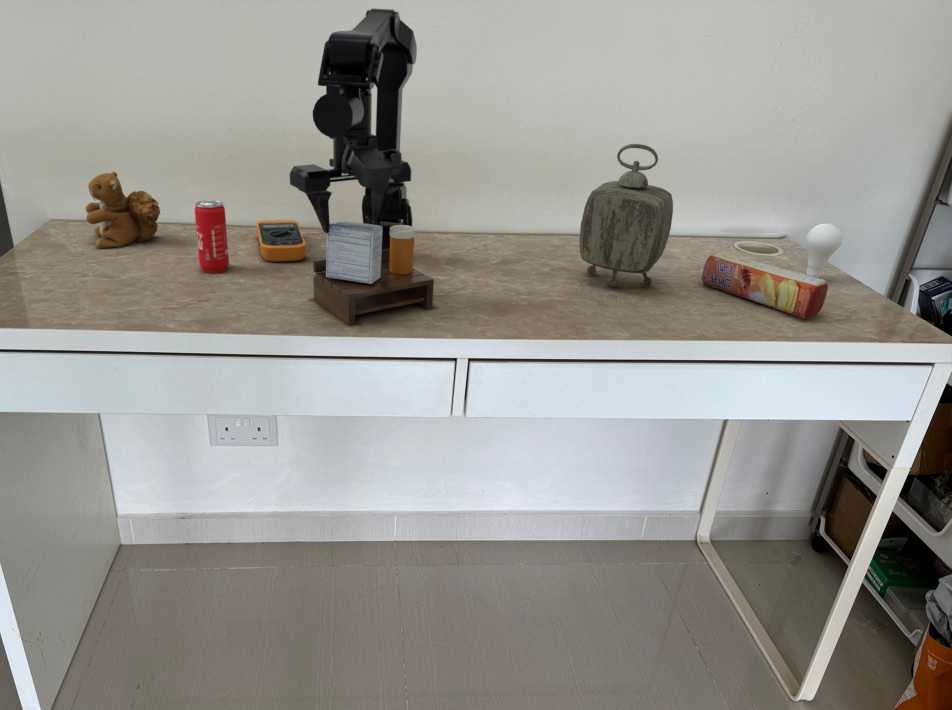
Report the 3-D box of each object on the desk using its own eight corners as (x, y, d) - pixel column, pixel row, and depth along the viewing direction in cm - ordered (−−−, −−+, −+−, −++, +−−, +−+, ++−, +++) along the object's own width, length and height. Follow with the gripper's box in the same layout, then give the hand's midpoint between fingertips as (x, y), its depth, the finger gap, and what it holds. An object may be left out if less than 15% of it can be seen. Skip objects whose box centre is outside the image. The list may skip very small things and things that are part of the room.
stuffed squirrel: (92, 234, 156) (82, 167, 150) (165, 232, 159) (158, 167, 153) (87, 249, 148) (75, 179, 141) (163, 246, 151) (155, 178, 145)
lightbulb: (828, 277, 152) (846, 222, 146) (829, 287, 147) (847, 230, 141) (795, 272, 154) (811, 217, 148) (794, 281, 149) (811, 225, 144)
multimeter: (262, 264, 145) (261, 246, 143) (256, 236, 160) (255, 219, 158) (307, 262, 146) (307, 244, 145) (298, 235, 162) (297, 218, 160)
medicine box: (381, 279, 125) (384, 225, 122) (370, 285, 121) (373, 230, 118) (336, 272, 127) (338, 219, 124) (325, 277, 123) (326, 223, 120)
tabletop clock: (659, 285, 144) (687, 146, 131) (647, 299, 136) (677, 154, 124) (583, 270, 149) (604, 135, 137) (569, 283, 142) (590, 143, 130)
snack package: (696, 285, 144) (704, 250, 141) (717, 279, 148) (725, 245, 145) (803, 323, 129) (814, 285, 126) (823, 316, 133) (835, 278, 130)
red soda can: (222, 275, 138) (216, 208, 132) (195, 272, 139) (188, 205, 133) (233, 266, 143) (229, 201, 137) (207, 263, 143) (201, 198, 138)
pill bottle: (404, 265, 132) (406, 223, 128) (418, 272, 129) (420, 230, 125) (383, 268, 130) (384, 226, 126) (397, 276, 127) (398, 233, 123)
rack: (394, 285, 137) (395, 247, 134) (432, 307, 129) (434, 267, 125) (313, 300, 129) (312, 260, 126) (348, 324, 121) (348, 282, 117)
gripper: (321, 140, 105) (323, 251, 112) (434, 131, 114) (428, 234, 122) (286, 126, 113) (290, 231, 120) (393, 119, 122) (391, 217, 130)
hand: (351, 228), depth 123 cm, fingers open, 9 cm apart
